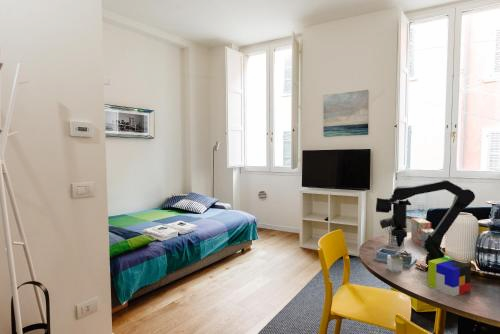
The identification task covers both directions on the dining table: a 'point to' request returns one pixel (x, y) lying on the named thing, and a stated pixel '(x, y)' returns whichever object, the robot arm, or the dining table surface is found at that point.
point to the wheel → (405, 258)
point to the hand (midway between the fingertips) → (399, 246)
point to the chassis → (383, 253)
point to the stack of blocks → (420, 229)
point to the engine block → (395, 263)
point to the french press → (394, 239)
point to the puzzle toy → (449, 276)
